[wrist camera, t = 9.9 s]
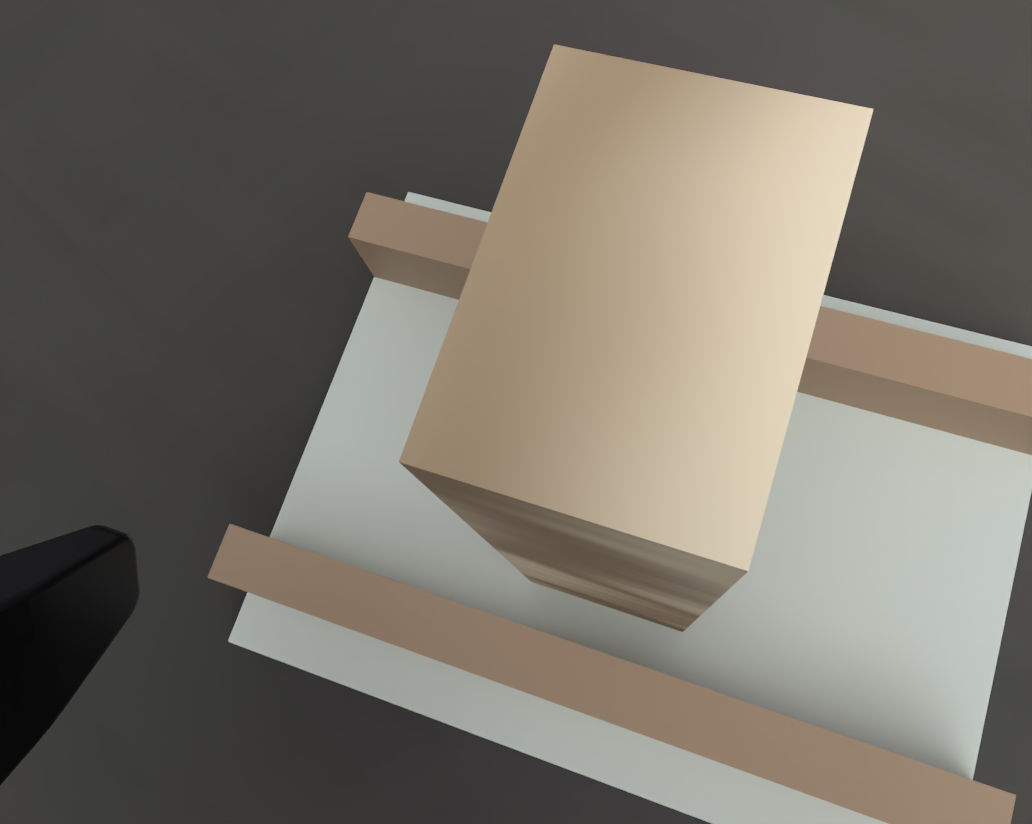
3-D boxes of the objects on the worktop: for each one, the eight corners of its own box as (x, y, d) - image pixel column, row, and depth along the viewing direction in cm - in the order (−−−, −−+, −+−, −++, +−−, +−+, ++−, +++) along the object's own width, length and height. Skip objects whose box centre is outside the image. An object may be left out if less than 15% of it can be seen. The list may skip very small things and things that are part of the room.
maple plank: (742, 419, 21) (874, 108, 9) (682, 631, 20) (748, 571, 8) (597, 379, 22) (553, 44, 10) (531, 581, 20) (399, 462, 9)
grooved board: (1040, 367, 21) (1108, 316, 18) (929, 899, 19) (987, 943, 16) (417, 210, 25) (386, 144, 22) (245, 643, 22) (182, 637, 19)
